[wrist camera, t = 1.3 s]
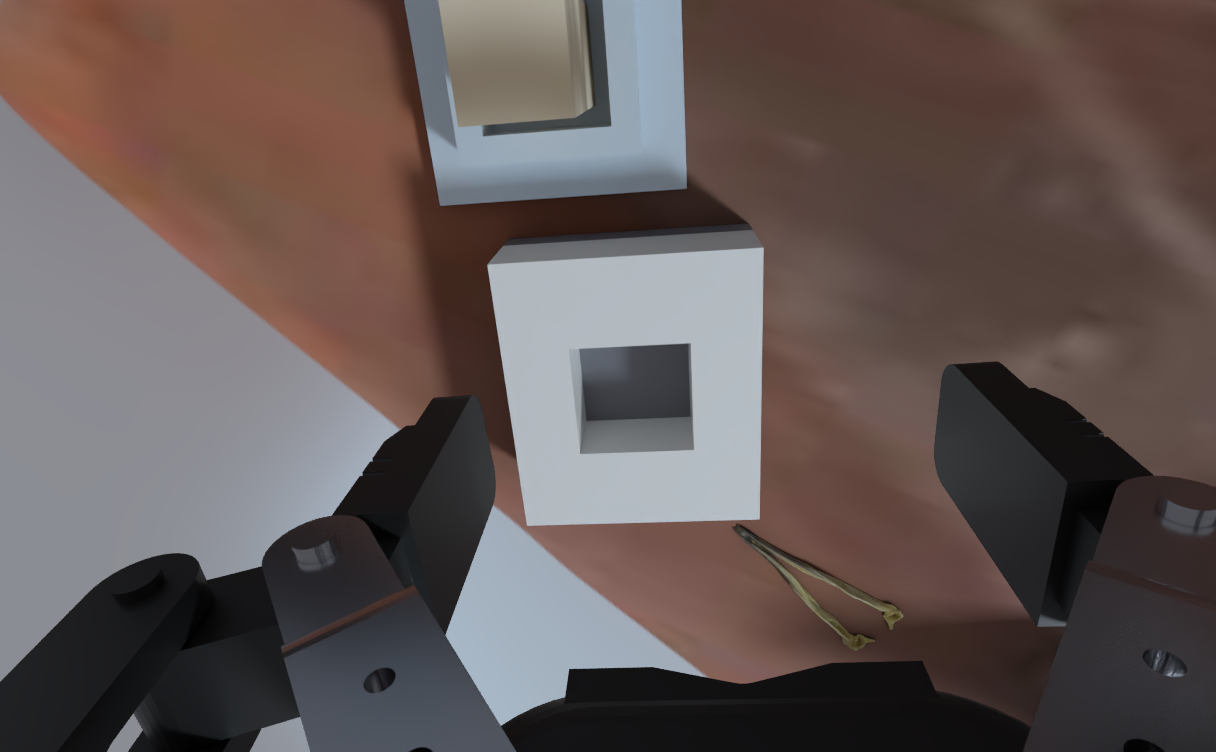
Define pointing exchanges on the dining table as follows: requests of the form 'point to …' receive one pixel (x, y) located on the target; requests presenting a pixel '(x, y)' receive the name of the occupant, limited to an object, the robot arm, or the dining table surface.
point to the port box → (634, 373)
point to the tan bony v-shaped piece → (847, 638)
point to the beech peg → (518, 59)
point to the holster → (574, 147)
